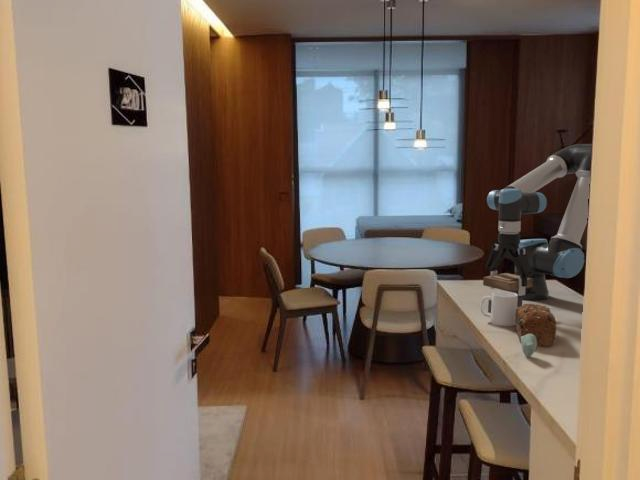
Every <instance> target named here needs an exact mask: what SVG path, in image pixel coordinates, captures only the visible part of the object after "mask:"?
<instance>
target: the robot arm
mask: <svg viewBox="0 0 640 480" xmlns="http://www.w3.org/2000/svg"><path fill="white" fill-rule="evenodd" d="M592 144H593V143H577V144H573V145H570V146H566V147H564V148H562V149H560V150H558V151H556V152H555V153H553V154H552V155H550V156H548V158H547V159H546V162H544V163H542V164H541V165H539V166H537V167H536V168H534V169H532V170H531V171H529V172H528V173H526V174H525V175H523V176H522V177H520V178H518V179H517V180H515V181H514V182H512V183H511V184H509V185H507V186H506V187H504V188H503V189H494V190H491V191H490V192H489V193H488V195H487V197H486V203H487V206H488V207H489V208H490V209H491V210H495V211H498V225H497V226H498V232H499V233H497V242H498V243H493V244H491V247H490V248H491V249H490V253H489V255H488V258H487V260H486V263H485V266H484V267H485V269H488V271H489V275H488V276H492V275H497V274H498V270H497V268H498V267H499V265H500V264H501V262H502V261H503V260H504V259H508V260H510V261H512V262H513V264H514V275H518V276H521V277H519V290H515V291H511V292H513V293H516V294H517V295H518V297H519V298H523V300H530V301H541V300H546V299H549V294H550V292H549V289H548V284H547V281H546V275H550V276H555V277H557V278H565V279H570V278H573V277H576V276H577V275H578V274H579V273H580V272H581V271H582V269H583V268H584V264H585V253H584V252H583V250H582V249H583V246H582V244H581V240H582V237H583V235H584V231H585V229H586V226H587V224H588V221H587V218H588V199H589V184H590V165H591V149H592ZM571 174H575V176H576V177H577V180H576V183H575V186H574V188H573V191H572V192H571V196H570V199H569V201H568V204H567V207H566V209H565V212H564V215H563V217H562V220H561V223H560V225H559V228H558V231H557V233H556V235H554V236H551V237H550V240H549V242H548V239H547V238H529V239H528V238H527V239H521V234H520V233H521V224H522V223H521V221H522V219H521V218H522V215H530V214H538V213H542V212H544V210H545V209H546V208H547V204H548V202H547V197H546V196H545V195H544V194H543V193H542V192H540V191H539V190H540V189H541V188H543V187H544V186H546V185H548V184H549V183H551V182H553V181H554V180H555V179H557V178H559V179H560V178H564V177H565V176H566V175H571ZM537 191H539V192H537ZM588 219H589V218H588ZM527 278H532V279H533V281H532V287H529V288H525V286H527ZM489 288H490V289H491V290H493V289H495V288H492V287H489Z"/></svg>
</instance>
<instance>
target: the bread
mask: <svg viewBox="0 0 640 480" xmlns="http://www.w3.org/2000/svg"><path fill="white" fill-rule="evenodd" d="M515 316H516V319H515V323H516V324H515V330H516V335H517V338H518V340H519V343H520V344H521V336H525V335H527V334H533V335H535V337H536V339H537V347H541V348H552V347H554V345H555V340H556V336H557V335H556V333H557V320H556V318H555V315H554V314H553V313H552V312H551V310H550V308H549V307H547V306H546V305H540V304H534V303H524V304H522V306H520V307H518V308H517V309H516V313H515Z"/></svg>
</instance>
